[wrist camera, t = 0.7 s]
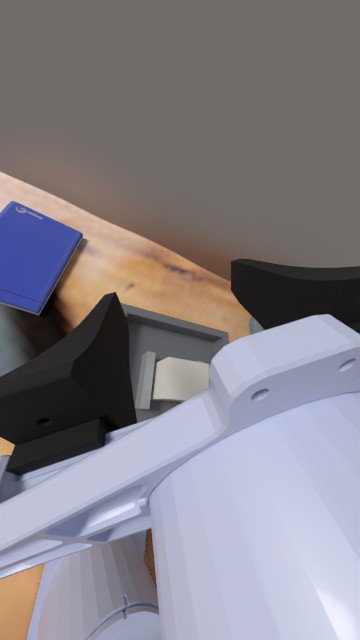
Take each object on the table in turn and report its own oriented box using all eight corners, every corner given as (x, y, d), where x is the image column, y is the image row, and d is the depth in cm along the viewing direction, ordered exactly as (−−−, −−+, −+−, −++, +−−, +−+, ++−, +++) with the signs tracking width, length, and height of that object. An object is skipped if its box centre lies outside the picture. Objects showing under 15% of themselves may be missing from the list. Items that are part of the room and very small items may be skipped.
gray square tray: (218, 456, 24) (234, 462, 22) (81, 463, 18) (82, 473, 16) (215, 338, 31) (227, 332, 29) (115, 312, 25) (120, 302, 22)
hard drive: (10, 198, 23) (-66, 280, 17) (83, 232, 26) (38, 312, 20) (13, 209, 24) (-57, 288, 18) (82, 240, 27) (40, 317, 21)
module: (185, 402, 24) (209, 402, 20) (147, 399, 22) (165, 398, 18) (187, 370, 26) (208, 364, 22) (152, 364, 24) (168, 356, 20)
